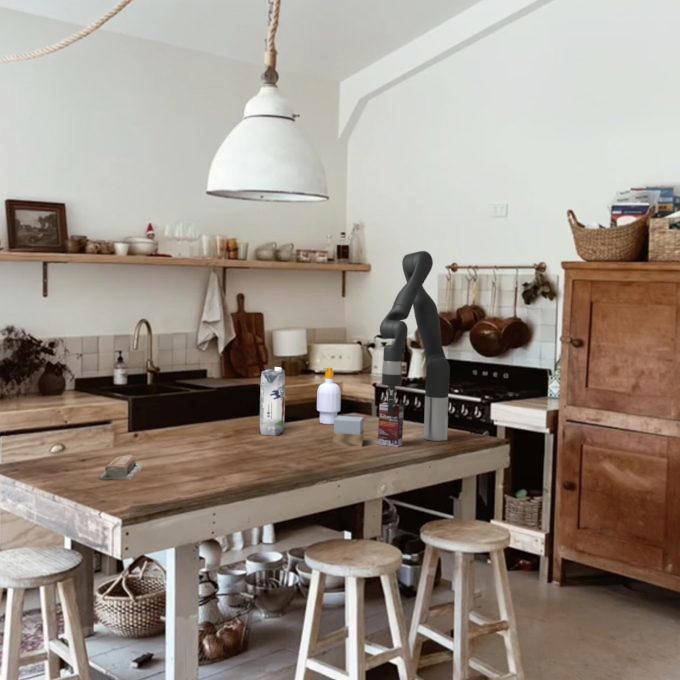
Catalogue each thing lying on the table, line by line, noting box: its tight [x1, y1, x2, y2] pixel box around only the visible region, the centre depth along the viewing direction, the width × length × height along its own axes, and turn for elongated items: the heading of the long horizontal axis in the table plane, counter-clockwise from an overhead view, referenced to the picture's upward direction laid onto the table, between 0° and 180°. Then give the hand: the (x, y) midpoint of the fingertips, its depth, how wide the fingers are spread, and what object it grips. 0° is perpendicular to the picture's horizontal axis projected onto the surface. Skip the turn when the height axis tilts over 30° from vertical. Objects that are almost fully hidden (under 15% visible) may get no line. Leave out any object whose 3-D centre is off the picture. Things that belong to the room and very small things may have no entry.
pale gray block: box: [333, 415, 364, 434], centre depth 337 cm, size 10×10×5 cm
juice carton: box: [259, 366, 286, 436], centre depth 353 cm, size 9×10×27 cm
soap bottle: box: [316, 367, 342, 425], centre depth 381 cm, size 10×10×24 cm
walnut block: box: [332, 429, 364, 447], centre depth 338 cm, size 11×11×5 cm
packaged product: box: [98, 454, 143, 481], centre depth 279 cm, size 18×5×10 cm
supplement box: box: [377, 402, 405, 448], centre depth 336 cm, size 9×5×16 cm, turn 62°
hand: (390, 414), depth 336 cm, fingers open, 8 cm apart
